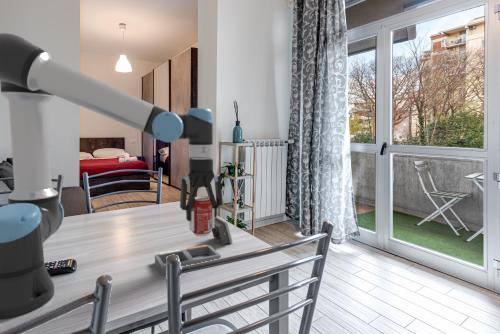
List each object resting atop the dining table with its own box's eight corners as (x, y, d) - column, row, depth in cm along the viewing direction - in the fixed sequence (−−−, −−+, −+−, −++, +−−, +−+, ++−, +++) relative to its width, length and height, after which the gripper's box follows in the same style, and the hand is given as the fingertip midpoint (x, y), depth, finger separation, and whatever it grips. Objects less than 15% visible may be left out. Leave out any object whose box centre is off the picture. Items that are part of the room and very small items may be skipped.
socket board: (161, 274, 91) (161, 265, 91) (155, 262, 100) (154, 253, 99) (220, 262, 100) (220, 254, 100) (210, 252, 109) (209, 244, 108)
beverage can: (202, 229, 105) (202, 194, 104) (215, 233, 102) (215, 197, 100) (188, 234, 101) (187, 198, 99) (201, 238, 97) (201, 201, 95)
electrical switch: (233, 243, 117) (231, 220, 115) (220, 247, 114) (218, 223, 112) (221, 236, 125) (219, 214, 123) (210, 239, 122) (207, 217, 120)
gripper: (174, 160, 90) (176, 236, 93) (233, 157, 99) (233, 227, 102) (167, 158, 97) (169, 229, 100) (224, 155, 106) (224, 221, 109)
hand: (202, 228), depth 101 cm, fingers closed on beverage can, 6 cm apart
